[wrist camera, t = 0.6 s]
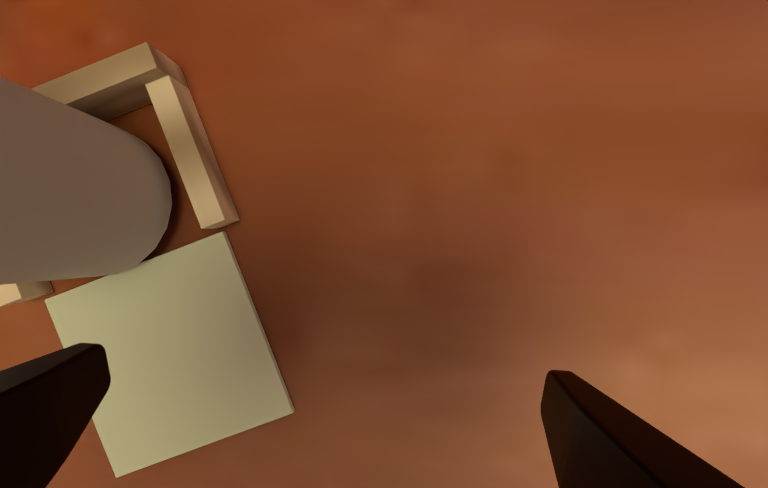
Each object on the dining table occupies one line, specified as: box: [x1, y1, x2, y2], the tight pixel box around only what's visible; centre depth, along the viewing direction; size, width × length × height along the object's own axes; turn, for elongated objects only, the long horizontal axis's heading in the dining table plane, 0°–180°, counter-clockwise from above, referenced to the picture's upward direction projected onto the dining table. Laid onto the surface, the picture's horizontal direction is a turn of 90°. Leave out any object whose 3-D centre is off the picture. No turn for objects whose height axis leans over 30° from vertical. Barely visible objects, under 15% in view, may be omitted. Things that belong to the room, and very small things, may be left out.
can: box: [0, 77, 172, 285], centre depth 17 cm, size 8×8×12 cm
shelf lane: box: [0, 42, 240, 306], centre depth 21 cm, size 8×12×3 cm
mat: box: [45, 231, 295, 478], centre depth 23 cm, size 10×10×1 cm
